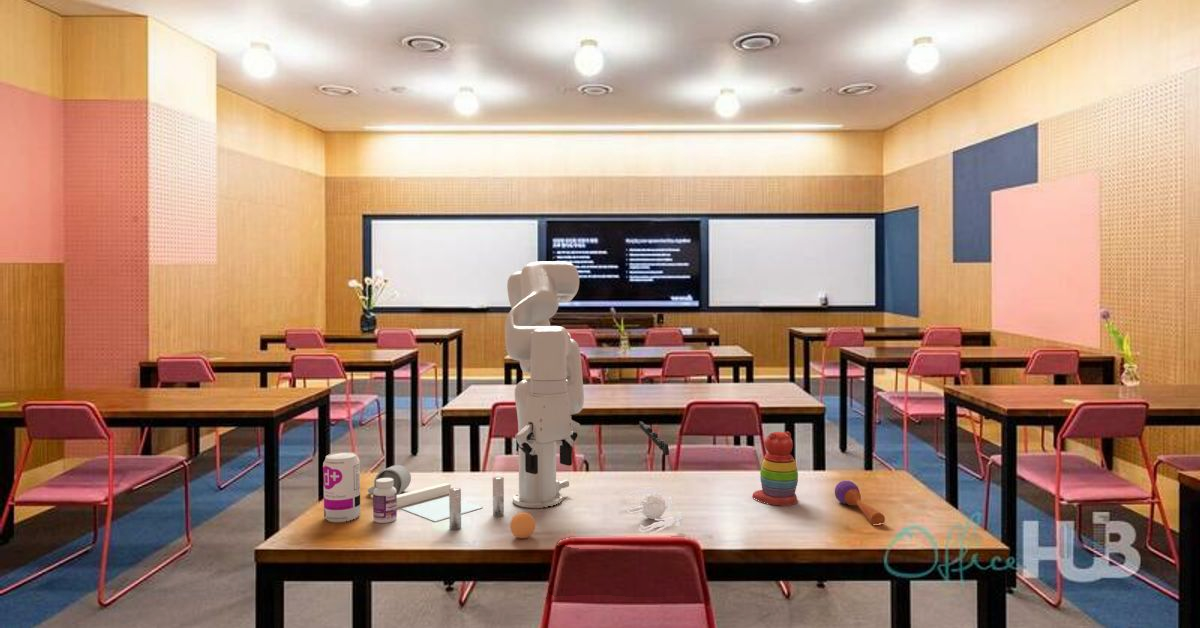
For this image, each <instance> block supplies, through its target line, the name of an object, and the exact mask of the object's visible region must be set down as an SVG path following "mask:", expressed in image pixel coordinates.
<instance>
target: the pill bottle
mask: <svg viewBox="0 0 1200 628" xmlns="http://www.w3.org/2000/svg"><path fill="white" fill-rule="evenodd" d="M393 484H394V481H393V479H392V478H380V479H377V480H376V487H377V488H376V489H375V490H374V491H373V494H372V504H373V505H372V508H373V509H372V512H373V515H372V519H373V522H375V523H379V524H389V523H391V522H394V521H396V520H397V517H398V512H397V511H398V510H397V509H398V508H397V491H396V488H395V487H393Z"/></svg>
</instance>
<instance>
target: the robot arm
mask: <svg viewBox="0 0 1200 628" xmlns="http://www.w3.org/2000/svg"><path fill="white" fill-rule="evenodd" d="M506 284H507V286H506V287H507V296H508V301H509V304H510V308H511V310H510V311H509V313H508V314H507V315H506V319H505V323H504V337H505V338H504V339H505V341H504V342H505V343H504V344H505V349H506V353H507V355H508V357H509V358H510V359H511V360H514V361H519V366H520V369H521V370H522V372H523V373H525V374H526V375H527V374H528V375H530V377H529V378H525V379H522V380H520V381H519V382H518V383H517V384H516V386H515V389H514V402H515V407H516V408H515V410H516V415H517V427H518V428H517V430H518V432H517V433H515V436H514V438H515V440H516V442H517V444H518V493H515V494H514V495H513V496H512V503H513V504H515V505H516V506H517V507H521V508H527V509H544V508H543V507H545V508H549V507H548V506H551V507H553V505H555V506H557V505H559V504H560V502H561V501H563V495H562V494H561V493H560V491H561V490H562V489H566V488H568V487H570V481H569V480H568V479H564V480H561V481H559V480H557V442H560V443H561V444H560V445H559V463H560V464H561V465H563V466H564V465H565V466H568V467H570V466H572V465H573V447H574V446H575V441H576V439H577V438H578V434H579V431H580V428H581V424H580V423H579V422H577V421H575V420H573V419H572V415H577V414H579V413H581V411H582V410H583V408H584V405H585V404H584V402H585V401H584V400H585V398H584V397H585V395H584V394H585V393H584V381H583V378H584V377H583V368H582V356H581V349H580V346H579V344H578V342H577V341H576V340H575V339H573V338H572V337H571V334H570V333H569V332H568V329H566V328H565V327H564V326H561V325H560V326H559V325H551V321H550V319H552V317H553V316H555V315H556V313H557V311H558V309H559V304H560V303H569V302H571V301H572V300H573V299H574V297H575V296H576V295H577V293H578V291H579V287H580V275H579V272H578V269H577V267H576V266H575V265H574V264H573V263H572V262H568V261H534V262H529V263H528V264H525V266H523V267H522V269H521V271H516V272H514V273H512V274H511V275H510V276H509V277H508V280H507V283H506ZM558 503H559V504H558ZM556 504H557V505H556Z"/></svg>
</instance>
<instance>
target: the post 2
mask: <svg viewBox="0 0 1200 628" xmlns="http://www.w3.org/2000/svg"><path fill="white" fill-rule="evenodd" d="M504 483H505V481H504V476H493V477H492V516H493V517H496V518H498V517H504V515H505V509H504V508H505V503H504V502H505V496H504V495H505V494H504V492H505V491H504V490H505V489H504V487H505V486H504Z"/></svg>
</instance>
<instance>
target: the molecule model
mask: <svg viewBox="0 0 1200 628" xmlns="http://www.w3.org/2000/svg"><path fill="white" fill-rule="evenodd" d="M638 424H639V426H638V427H639V428H640V429H641V431H643V432H644V433H645V434H646V436H648V438H649V439H650V440H651V441H652V442H653V443H654V444H655V446H657V447H658V449H659V450H660V451H662V453H663V454H664V455H665V456H669V455H670V452H669V450H670V449H669V443H667V441H665V440H664V439H661V438H658V435H659V434H658V433H657V432H655V431H653V428H652V426H649V425H647V424H645V423H644V422H643V421H639V423H638ZM658 485H659V488H654V487H653V486H652V487H651V486H648V487H647V486H646V487H645V486H643V487H641V486H632V488H635V489H640V490H633V491H631V492H627V493H624V492H623V491H621V492H620V493H621V494H622V495H620V498H621V499H622V500H623V499H630V498H635V497H638V496H642V497H640V498H638V499H636V500H632V501H629V504H632V503H633V504H634V502H635V503H636V502H638V501H640V505H638V506H635V507H631V506H630V505H627V508H629V509H630V510H634V509H638V508H640V509H638V510H635V511H630V510H629V509H627V510H626V511H627V513H629V514H633V513H635V514H636V513H639V512H641V513H642V515H641V514H640V515H639V516H637V519H641V518H643V517H645V518H647V519H651V520H655V521H657V522H653V523H652V524H650V525H647V526H644V525H643V524H642V523H641V524H640V527H641V528H640V527H639V528H638V530H639V531H640V532H641V533H645V532H647V534H646V535H647V536H648V535H649V536H651V535H653V534H654V533H656V532H660V531H663V530H664V529H666V528H668V527H671V526H672V525H673V524H674V523H675V526H676V527H677V526H678V527H680V526H681V523H680V520H683V519H684V517H682V515H683V511H680V510H679V511H677V514H678V517H674V516H669V517H665V518H661V517H662V516H663V515H664V514H665V510H666V507H667V511H672V510H673V509H672V506H671V505H675V502H673V496H668V498H669V499H668V500H669V502H665V501H666V500H665V499H664V498H663V497H662V495H663V494H662V493H661V492H662V491H665V489H663V483H659V484H658ZM630 494H632V495H630ZM624 495H625V497H624ZM626 495H630V496H626ZM659 527H660V528H659ZM655 528H658V529H656V530H655V531H652V532H649V533H648V531H651V530H654V529H655Z"/></svg>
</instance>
